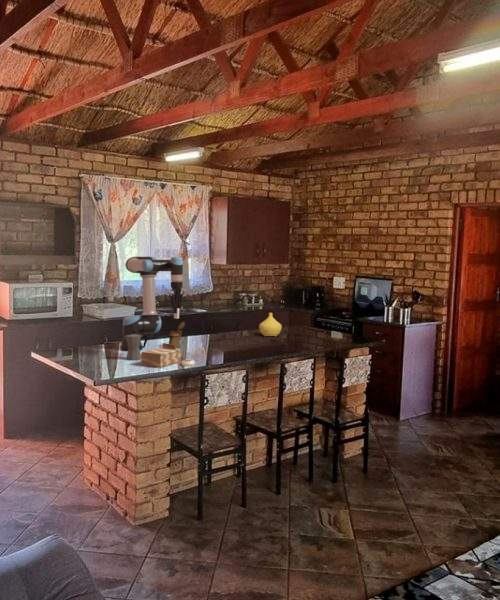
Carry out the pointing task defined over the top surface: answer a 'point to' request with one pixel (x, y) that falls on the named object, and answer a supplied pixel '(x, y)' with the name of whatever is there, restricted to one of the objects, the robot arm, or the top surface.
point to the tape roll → (187, 362)
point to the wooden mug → (176, 335)
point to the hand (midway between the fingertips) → (176, 318)
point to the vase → (270, 326)
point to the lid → (164, 349)
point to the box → (160, 359)
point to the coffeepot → (134, 345)
